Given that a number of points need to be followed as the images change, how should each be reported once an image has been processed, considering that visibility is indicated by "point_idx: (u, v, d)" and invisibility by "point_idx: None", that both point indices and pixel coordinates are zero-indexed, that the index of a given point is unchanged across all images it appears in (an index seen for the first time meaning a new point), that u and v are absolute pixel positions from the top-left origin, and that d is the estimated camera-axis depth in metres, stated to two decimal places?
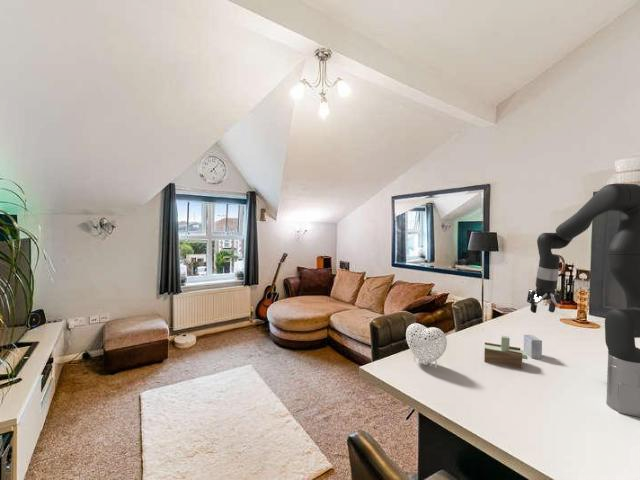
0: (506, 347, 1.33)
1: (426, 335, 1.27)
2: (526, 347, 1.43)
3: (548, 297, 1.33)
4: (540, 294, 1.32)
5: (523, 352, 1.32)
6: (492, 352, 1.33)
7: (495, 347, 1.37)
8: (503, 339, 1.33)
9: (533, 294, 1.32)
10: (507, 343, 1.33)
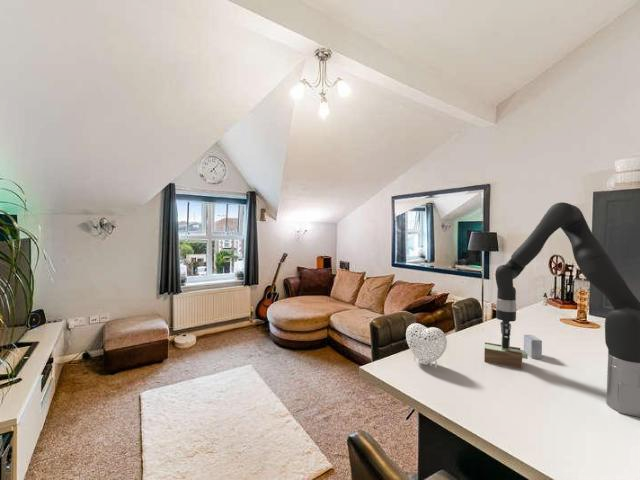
0: None
1: (426, 335, 1.27)
2: (526, 347, 1.43)
3: None
4: (509, 329, 1.31)
5: (523, 351, 1.32)
6: (492, 352, 1.33)
7: (495, 346, 1.37)
8: None
9: (509, 332, 1.28)
10: None
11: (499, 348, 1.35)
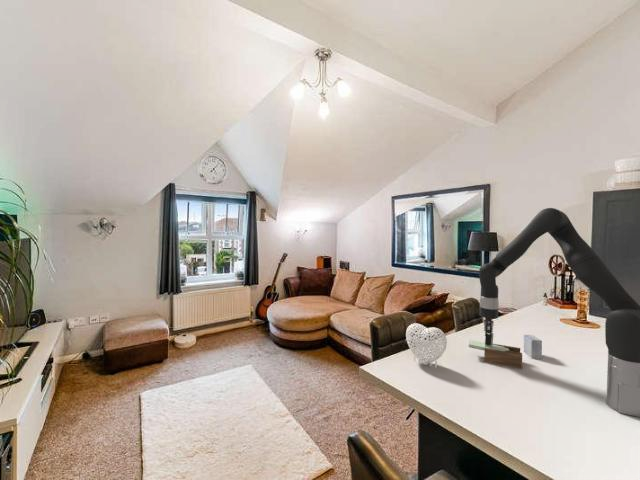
0: None
1: (426, 335, 1.27)
2: (526, 347, 1.43)
3: (491, 325, 1.37)
4: (491, 326, 1.34)
5: (506, 349, 1.35)
6: (492, 352, 1.33)
7: (479, 343, 1.41)
8: None
9: (491, 329, 1.32)
10: (491, 339, 1.36)
11: (483, 344, 1.39)
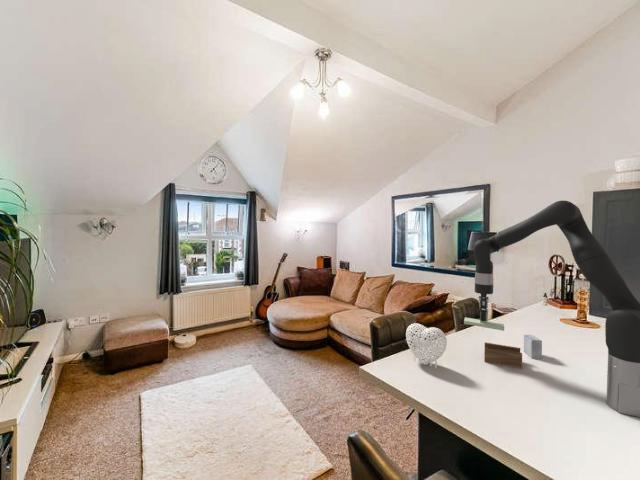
0: None
1: (426, 335, 1.27)
2: (526, 347, 1.43)
3: None
4: None
5: (501, 324, 1.35)
6: (492, 352, 1.33)
7: (474, 320, 1.41)
8: None
9: (486, 304, 1.32)
10: (486, 315, 1.36)
11: (478, 321, 1.39)
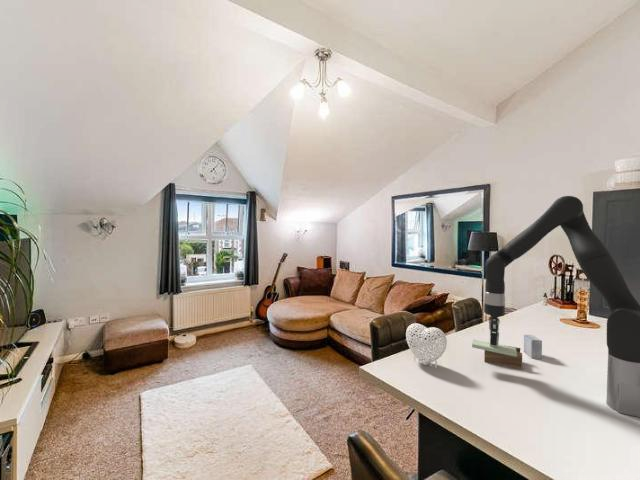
0: None
1: (426, 335, 1.27)
2: (526, 347, 1.43)
3: None
4: None
5: (513, 349, 1.24)
6: (492, 352, 1.33)
7: (483, 342, 1.29)
8: None
9: (497, 328, 1.20)
10: None
11: (487, 344, 1.27)
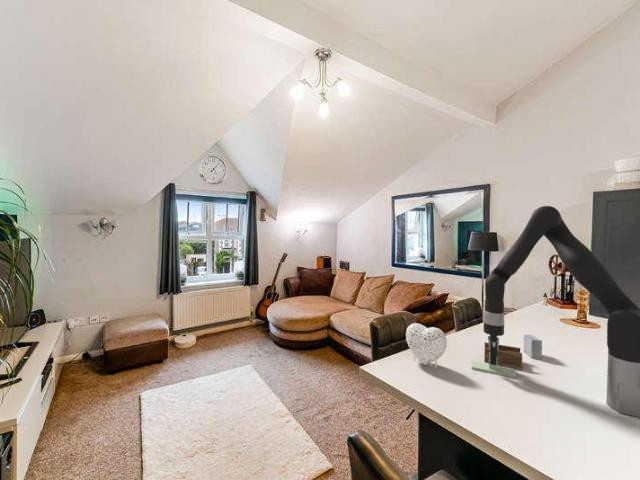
0: (494, 365, 1.25)
1: (426, 335, 1.27)
2: (526, 347, 1.43)
3: None
4: (496, 343, 1.23)
5: (512, 371, 1.24)
6: None
7: (483, 364, 1.29)
8: None
9: (497, 346, 1.20)
10: None
11: (487, 366, 1.27)
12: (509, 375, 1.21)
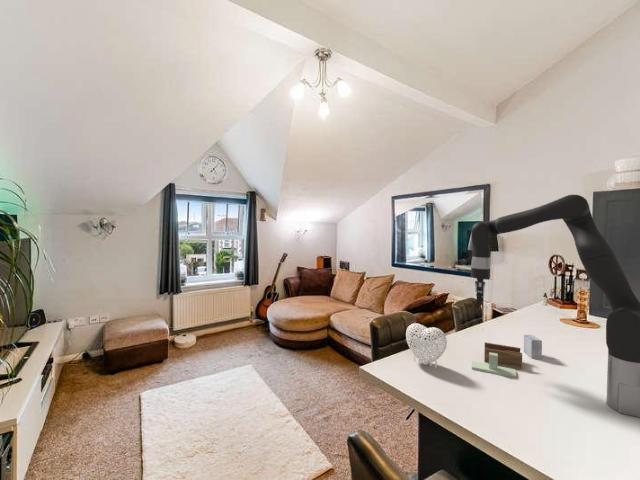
0: (494, 365, 1.25)
1: (426, 335, 1.27)
2: (526, 347, 1.43)
3: None
4: (482, 285, 1.30)
5: (512, 371, 1.24)
6: (492, 352, 1.33)
7: (483, 364, 1.29)
8: (491, 356, 1.25)
9: (483, 286, 1.27)
10: (495, 361, 1.25)
11: (487, 366, 1.27)
12: (509, 375, 1.21)
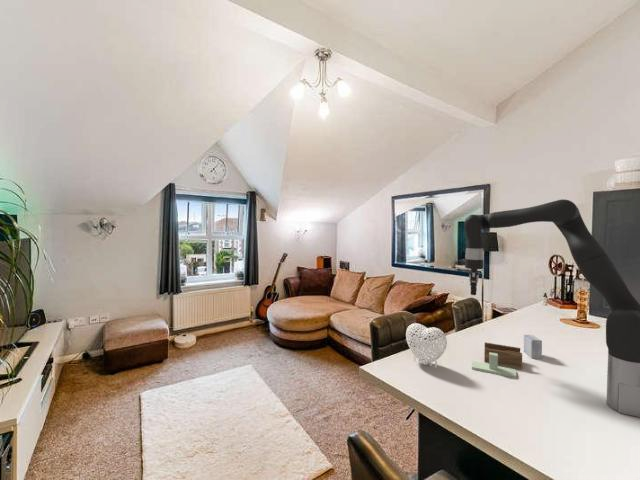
0: (494, 365, 1.25)
1: (426, 335, 1.27)
2: (526, 347, 1.43)
3: None
4: (476, 275, 1.35)
5: (512, 371, 1.24)
6: (492, 352, 1.33)
7: (483, 364, 1.29)
8: (491, 356, 1.25)
9: (476, 276, 1.32)
10: (495, 361, 1.25)
11: (487, 366, 1.27)
12: (509, 375, 1.21)
